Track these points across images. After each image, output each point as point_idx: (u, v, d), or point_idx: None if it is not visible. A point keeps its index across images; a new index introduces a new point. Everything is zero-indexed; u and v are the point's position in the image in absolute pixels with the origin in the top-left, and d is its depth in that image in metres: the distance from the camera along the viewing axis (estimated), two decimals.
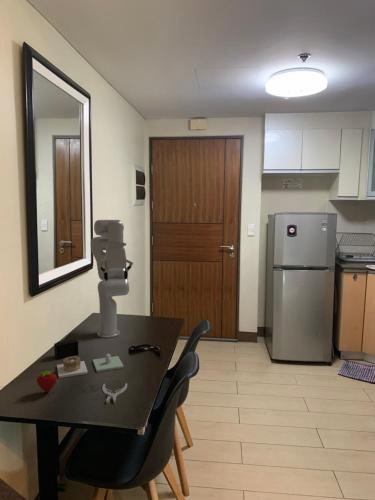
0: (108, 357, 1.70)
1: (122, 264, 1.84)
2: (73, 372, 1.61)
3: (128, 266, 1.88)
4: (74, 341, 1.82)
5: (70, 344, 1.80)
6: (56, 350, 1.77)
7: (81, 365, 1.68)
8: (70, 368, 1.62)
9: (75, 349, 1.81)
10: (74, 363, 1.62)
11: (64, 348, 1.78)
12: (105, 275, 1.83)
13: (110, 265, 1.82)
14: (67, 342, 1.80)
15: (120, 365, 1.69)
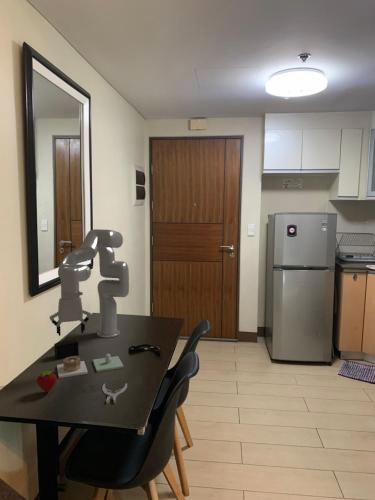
0: (108, 357, 1.70)
1: (77, 316, 1.62)
2: (73, 372, 1.61)
3: None
4: (74, 341, 1.82)
5: (70, 344, 1.80)
6: (56, 350, 1.77)
7: (81, 365, 1.68)
8: (70, 368, 1.62)
9: (75, 349, 1.81)
10: (74, 363, 1.62)
11: (64, 348, 1.78)
12: (58, 329, 1.60)
13: (63, 318, 1.59)
14: (68, 343, 1.80)
15: (120, 365, 1.69)
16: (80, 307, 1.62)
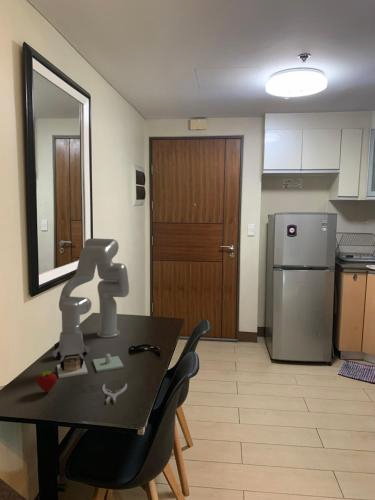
0: (108, 357, 1.70)
1: (78, 350, 1.64)
2: (73, 372, 1.61)
3: (84, 352, 1.67)
4: None
5: None
6: None
7: None
8: (70, 368, 1.62)
9: None
10: (74, 363, 1.62)
11: None
12: (61, 364, 1.63)
13: (64, 352, 1.61)
14: None
15: (120, 365, 1.69)
16: (81, 341, 1.64)
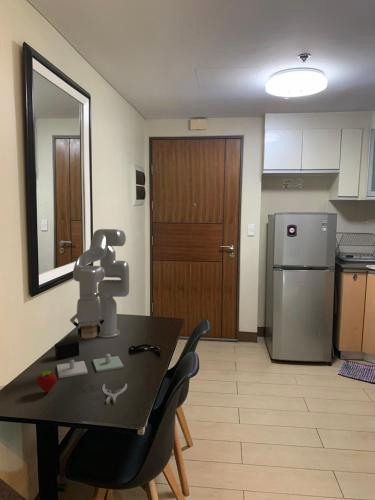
0: (108, 357, 1.70)
1: (95, 317, 1.65)
2: (73, 372, 1.61)
3: (101, 320, 1.69)
4: (75, 341, 1.81)
5: (71, 344, 1.79)
6: (57, 351, 1.76)
7: (81, 365, 1.68)
8: (88, 335, 1.63)
9: (75, 349, 1.81)
10: (91, 330, 1.64)
11: (65, 348, 1.77)
12: (79, 331, 1.64)
13: (82, 319, 1.63)
14: (68, 343, 1.79)
15: (120, 365, 1.69)
16: (98, 308, 1.65)
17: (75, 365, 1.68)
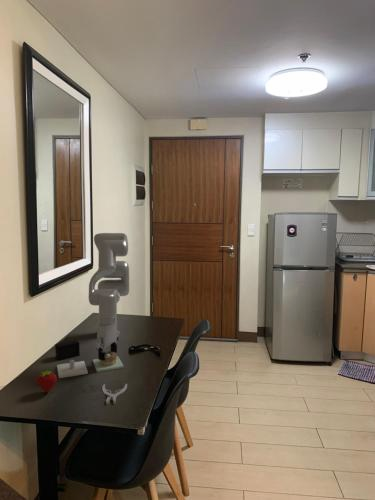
0: None
1: (115, 338, 1.72)
2: (73, 372, 1.61)
3: None
4: (75, 342, 1.81)
5: (71, 345, 1.79)
6: (57, 351, 1.76)
7: (81, 365, 1.68)
8: (113, 361, 1.70)
9: (76, 349, 1.80)
10: (115, 356, 1.71)
11: (65, 348, 1.77)
12: (102, 355, 1.66)
13: (107, 342, 1.67)
14: (69, 343, 1.79)
15: (120, 365, 1.69)
16: (116, 328, 1.73)
17: (75, 365, 1.68)
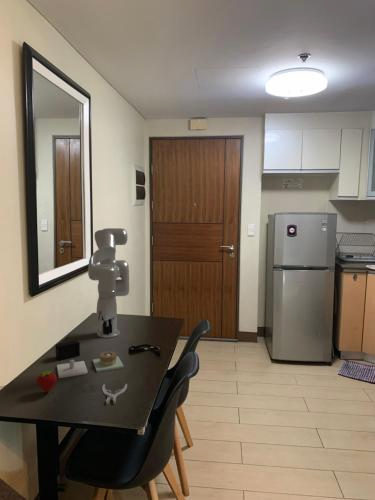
0: None
1: (114, 313, 1.71)
2: (73, 372, 1.61)
3: (110, 318, 1.72)
4: (75, 342, 1.81)
5: (71, 345, 1.79)
6: (57, 351, 1.76)
7: (81, 365, 1.68)
8: (113, 361, 1.70)
9: (76, 349, 1.80)
10: (115, 356, 1.71)
11: (65, 348, 1.77)
12: (107, 329, 1.68)
13: (107, 317, 1.65)
14: (69, 343, 1.79)
15: (120, 365, 1.69)
16: None
17: (75, 365, 1.68)
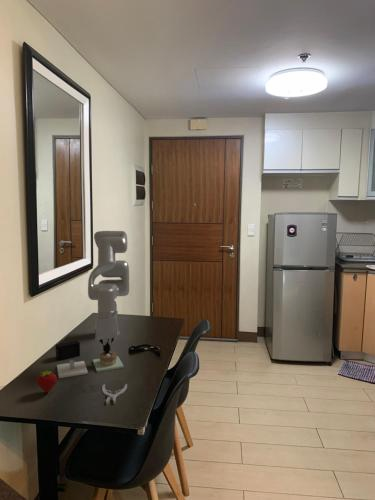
0: None
1: (113, 334, 1.72)
2: (73, 372, 1.61)
3: None
4: (76, 342, 1.81)
5: (72, 345, 1.78)
6: (58, 351, 1.76)
7: (81, 365, 1.68)
8: (113, 361, 1.70)
9: (76, 350, 1.80)
10: (115, 356, 1.71)
11: (65, 349, 1.77)
12: (104, 347, 1.72)
13: (100, 336, 1.70)
14: (69, 343, 1.79)
15: (120, 365, 1.69)
16: (116, 325, 1.72)
17: (75, 365, 1.68)
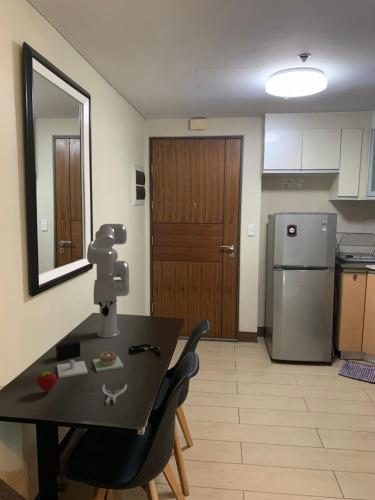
0: None
1: (112, 297, 1.72)
2: (73, 372, 1.61)
3: None
4: (76, 342, 1.81)
5: (72, 345, 1.78)
6: (58, 351, 1.76)
7: (81, 365, 1.68)
8: (113, 361, 1.70)
9: (77, 350, 1.80)
10: (115, 356, 1.71)
11: (66, 349, 1.77)
12: (103, 310, 1.72)
13: (99, 298, 1.70)
14: (69, 344, 1.79)
15: (120, 365, 1.69)
16: (114, 288, 1.72)
17: (75, 365, 1.68)
